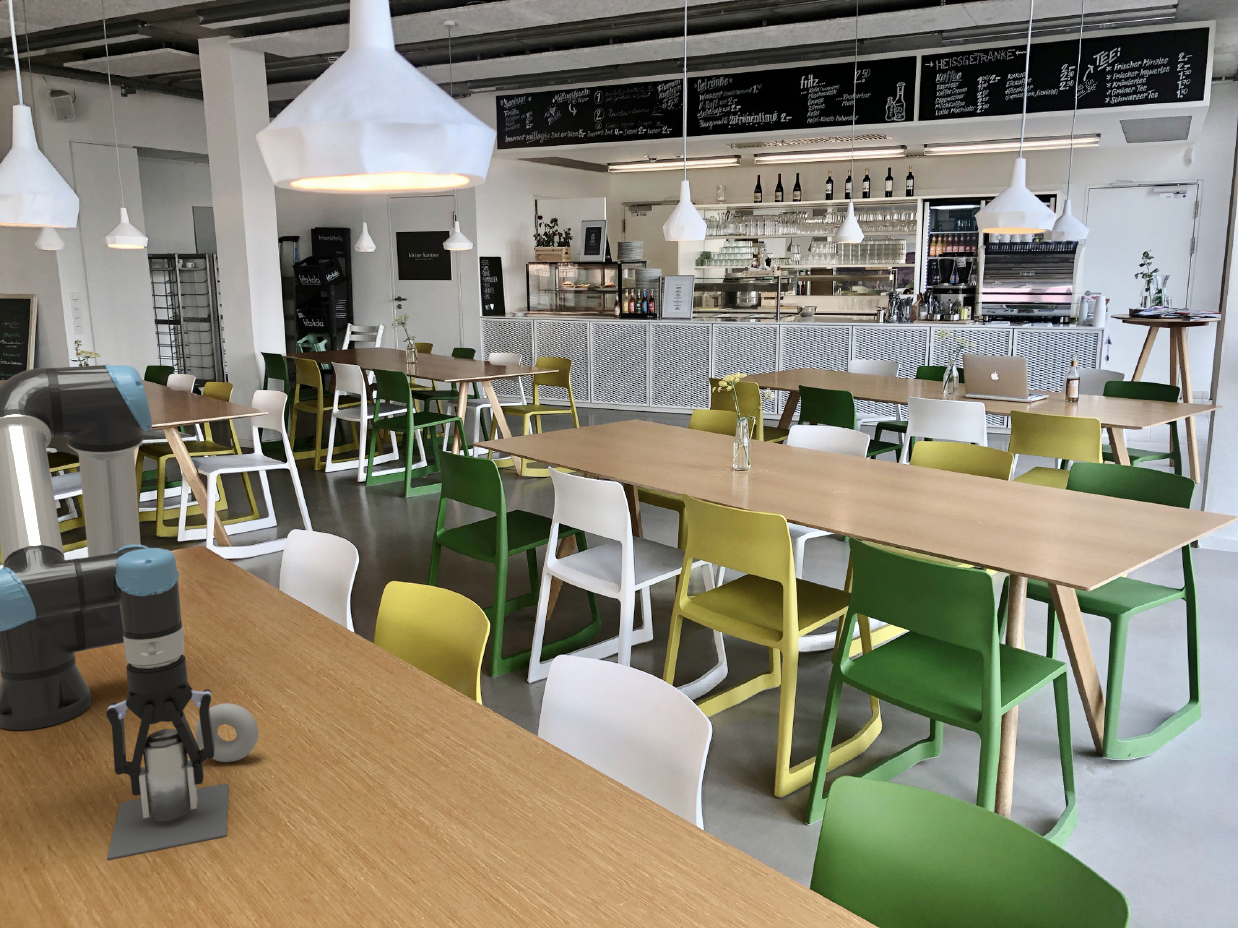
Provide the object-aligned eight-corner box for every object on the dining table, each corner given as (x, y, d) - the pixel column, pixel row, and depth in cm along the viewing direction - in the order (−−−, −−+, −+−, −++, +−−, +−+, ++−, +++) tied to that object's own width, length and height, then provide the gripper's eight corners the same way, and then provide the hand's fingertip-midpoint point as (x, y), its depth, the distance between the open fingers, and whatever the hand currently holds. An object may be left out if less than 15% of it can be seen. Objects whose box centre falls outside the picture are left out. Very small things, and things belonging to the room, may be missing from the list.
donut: (263, 754, 154) (259, 698, 152) (256, 765, 150) (251, 708, 148) (203, 755, 153) (197, 699, 151) (194, 766, 150) (188, 709, 148)
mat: (120, 803, 139) (120, 802, 139) (228, 784, 144) (228, 782, 144) (106, 859, 125) (106, 858, 125) (226, 836, 131) (226, 834, 131)
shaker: (151, 804, 136) (143, 730, 134) (193, 796, 138) (186, 723, 136) (148, 824, 131) (140, 748, 129) (191, 816, 133) (184, 740, 131)
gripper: (76, 678, 123) (95, 835, 128) (226, 658, 130) (239, 808, 135) (85, 658, 130) (102, 808, 135) (227, 640, 137) (239, 783, 141)
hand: (170, 808), depth 135 cm, fingers closed on shaker, 5 cm apart
